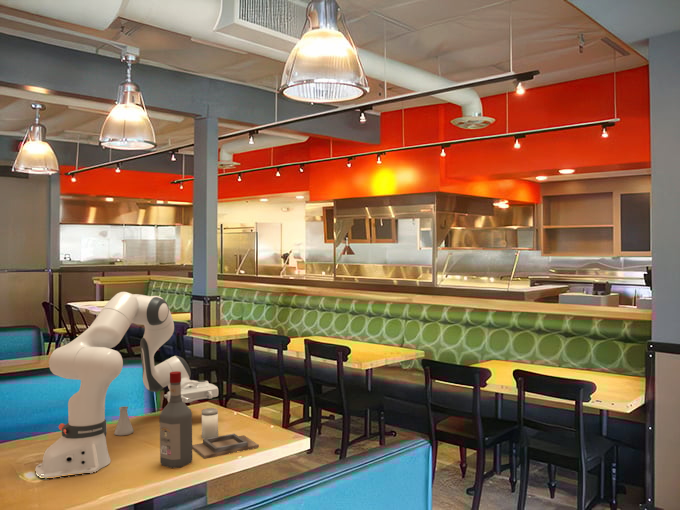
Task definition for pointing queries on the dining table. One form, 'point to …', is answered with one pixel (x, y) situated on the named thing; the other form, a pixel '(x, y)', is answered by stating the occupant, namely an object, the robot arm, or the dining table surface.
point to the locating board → (223, 445)
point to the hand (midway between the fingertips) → (199, 398)
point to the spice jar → (209, 423)
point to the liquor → (175, 428)
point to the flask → (123, 423)
